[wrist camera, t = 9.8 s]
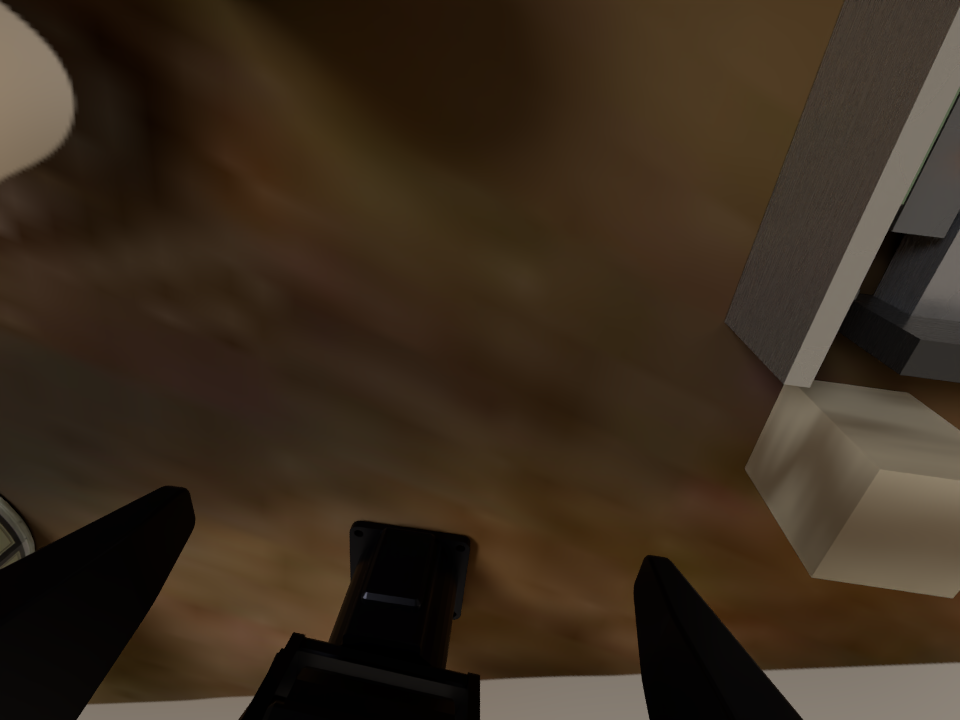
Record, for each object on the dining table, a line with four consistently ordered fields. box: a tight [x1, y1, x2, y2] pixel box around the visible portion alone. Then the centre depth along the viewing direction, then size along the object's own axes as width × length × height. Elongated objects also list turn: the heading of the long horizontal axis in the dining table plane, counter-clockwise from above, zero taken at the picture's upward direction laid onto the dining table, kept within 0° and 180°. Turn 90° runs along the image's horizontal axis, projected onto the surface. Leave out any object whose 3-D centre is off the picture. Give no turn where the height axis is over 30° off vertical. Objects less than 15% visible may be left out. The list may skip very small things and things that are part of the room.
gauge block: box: [745, 380, 960, 598], centre depth 19 cm, size 5×5×6 cm
